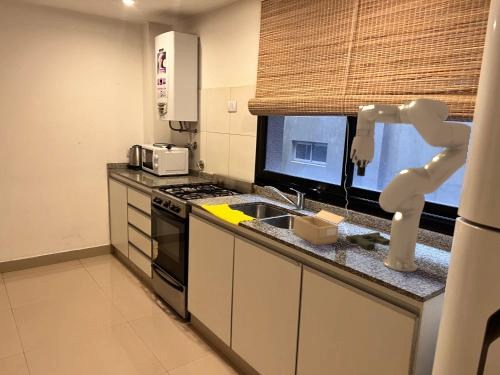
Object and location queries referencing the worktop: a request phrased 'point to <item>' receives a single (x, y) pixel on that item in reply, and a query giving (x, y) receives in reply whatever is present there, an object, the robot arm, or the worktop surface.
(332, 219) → the back flap
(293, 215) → the front flap
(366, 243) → the firearm
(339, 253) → the worktop surface
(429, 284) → the worktop surface
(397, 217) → the robot arm
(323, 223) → the carton
